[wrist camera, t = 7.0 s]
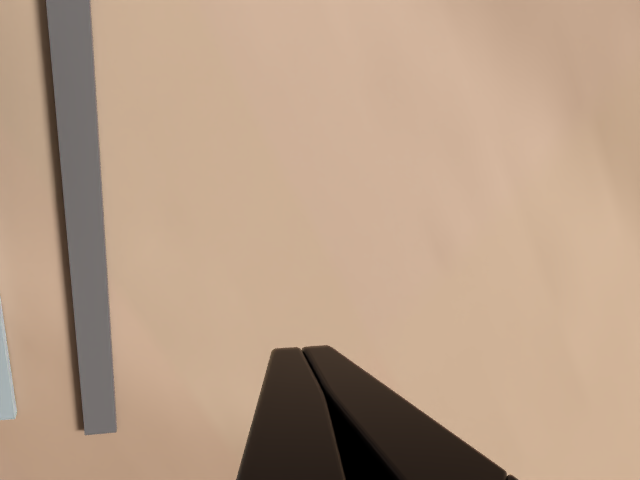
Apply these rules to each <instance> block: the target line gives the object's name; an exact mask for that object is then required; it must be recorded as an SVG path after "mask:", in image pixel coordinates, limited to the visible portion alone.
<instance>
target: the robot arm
mask: <svg viewBox="0 0 640 480" xmlns="http://www.w3.org/2000/svg"><path fill="white" fill-rule="evenodd" d="M236 480H518V479H517V478H515V477H514V476H512V475H508V476H507V473H506V471H505V470H504V469H502V468H501V467H499V466H498V465H497V464H495V463H494V462H492V461H491V460H490V459H488V458H487V457H485V456H484V455H483V454H481V453H480V452H478V451H477V450H476V449H474V448H473V447H471V446H470V445H468V444H467V443H466V442H464V441H463V440H461V439H460V438H459V437H457V436H456V435H454V434H453V433H452V432H450V431H449V430H447V429H446V428H445V427H443V426H442V425H440V424H439V423H438V422H436V421H435V420H433V419H432V418H431V417H429V416H428V415H426V414H425V413H424V412H422V411H421V410H419V409H418V408H416V407H415V406H414V405H412V404H411V403H409V402H408V401H407V400H405V399H404V398H402V397H401V396H400V395H398V394H397V393H395V392H394V391H393V390H391V389H390V388H388V387H387V386H386V385H384V384H383V383H381V382H380V381H379V380H377V379H376V378H374V377H373V376H371V375H370V374H369V373H367V372H366V371H364V370H363V369H362V368H360V367H359V366H357V365H356V364H355V363H353V362H352V361H350V360H349V359H348V358H346V357H345V356H343V355H342V354H341V353H339V352H338V351H336V350H335V349H334V348H332V347H330V346H327V345H324V346H309V347H304V348H302V350H301V349H300V348H297V347H293V348H277V349H274V350H273V351H272V352H271V356H270V359H269V363H268V367H267V370H266V374H265V377H264V381H263V385H262V388H261V392H260V396H259V399H258V403H257V406H256V410H255V414H254V417H253V421H252V425H251V428H250V432H249V435H248V439H247V443H246V446H245V450H244V454H243V457H242V461H241V464H240V468H239V472H238V475H237V479H236Z"/></svg>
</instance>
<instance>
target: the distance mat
mask: <svg viewBox="0 0 640 480" xmlns="http://www.w3.org/2000/svg"><path fill="white" fill-rule="evenodd" d="M16 414H17V409H16V402H15V395H14V388H13V381H12V374H11V367H10V361H9V354H8V347H7V340H6V333H5V326H4V319H3V312H2V305H1V298H0V420H8V419H15V417H16Z"/></svg>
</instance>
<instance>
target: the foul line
mask: <svg viewBox="0 0 640 480" xmlns="http://www.w3.org/2000/svg"><path fill="white" fill-rule="evenodd" d="M46 7H47V18H48V29H49V40H50V52H51V63H52V74H53V85H54V96H55V107H56V119H57V130H58V141H59V152H60V163H61V174H62V186H63V197H64V208H65V219H66V230H67V241H68V253H69V264H70V275H71V286H72V297H73V308H74V320H75V331H76V342H77V353H78V364H79V375H80V387H81V398H82V409H83V420H84V431H85V435H92V434H103V433H114V432H117V423H116V407H115V391H114V375H113V359H112V343H111V326H110V310H109V294H108V278H107V262H106V246H105V230H104V214H103V198H102V182H101V166H100V150H99V134H98V117H97V101H96V85H95V69H94V53H93V37H92V21H91V5H90V0H46Z"/></svg>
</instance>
